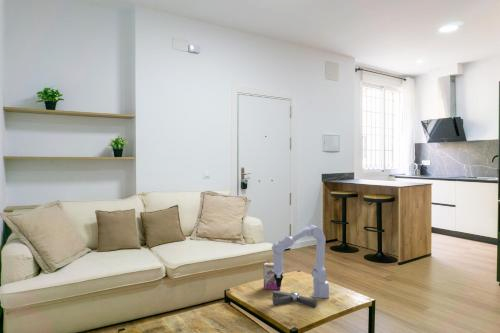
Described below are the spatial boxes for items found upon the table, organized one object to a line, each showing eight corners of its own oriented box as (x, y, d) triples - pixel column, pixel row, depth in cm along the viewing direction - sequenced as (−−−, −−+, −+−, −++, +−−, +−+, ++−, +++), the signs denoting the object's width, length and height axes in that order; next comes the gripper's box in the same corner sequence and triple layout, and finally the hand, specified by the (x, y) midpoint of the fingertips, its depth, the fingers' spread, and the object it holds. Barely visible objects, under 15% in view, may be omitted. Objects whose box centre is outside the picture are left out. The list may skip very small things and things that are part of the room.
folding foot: (291, 298, 201) (291, 293, 201) (289, 299, 199) (289, 295, 199) (274, 294, 207) (274, 290, 207) (272, 296, 204) (272, 292, 204)
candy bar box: (263, 289, 217) (263, 264, 216) (264, 286, 221) (264, 262, 221) (280, 290, 214) (280, 265, 214) (281, 287, 219) (280, 262, 219)
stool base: (316, 299, 199) (316, 292, 199) (317, 307, 189) (317, 300, 188) (274, 297, 203) (273, 290, 203) (272, 305, 193) (272, 298, 192)
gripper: (271, 259, 206) (272, 280, 207) (271, 267, 192) (272, 290, 192) (282, 259, 206) (283, 280, 206) (283, 267, 191) (284, 290, 192)
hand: (278, 285), depth 199 cm, fingers open, 4 cm apart
